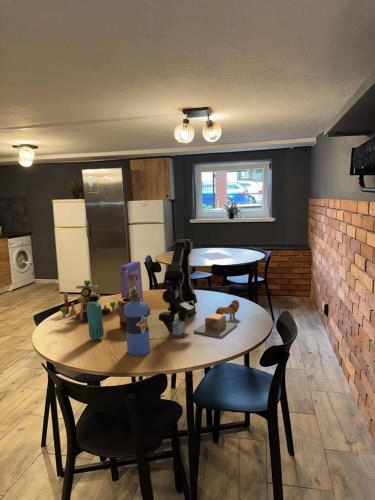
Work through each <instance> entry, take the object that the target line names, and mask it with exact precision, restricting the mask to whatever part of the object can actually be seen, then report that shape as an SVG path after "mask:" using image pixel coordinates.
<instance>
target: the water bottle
mask: <svg viewBox="0 0 375 500" xmlns="http://www.w3.org/2000/svg"><path fill="white" fill-rule="evenodd" d="M139 294H140V293H139V292H138V291H137V290H133V291H132V292H131V293H130V295H131V296H130V302H129V303H128V304H126V305H124V315H125V319H126V324H127V326H126V330H125V337H126V348H127V349H126V350H127V354H128V355H129V356H131V357H142V356H146V355H148V354H149V353H150V352H151V344H150V343H151V340H150V330H149V329H150V328H149V324H148V317H149V316H148V307H149V304H148V303H147V302H144V301H143V300H142V301H143V302H142V301H140V300H141V297H140V295H139ZM147 316H148V317H147Z"/></svg>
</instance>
